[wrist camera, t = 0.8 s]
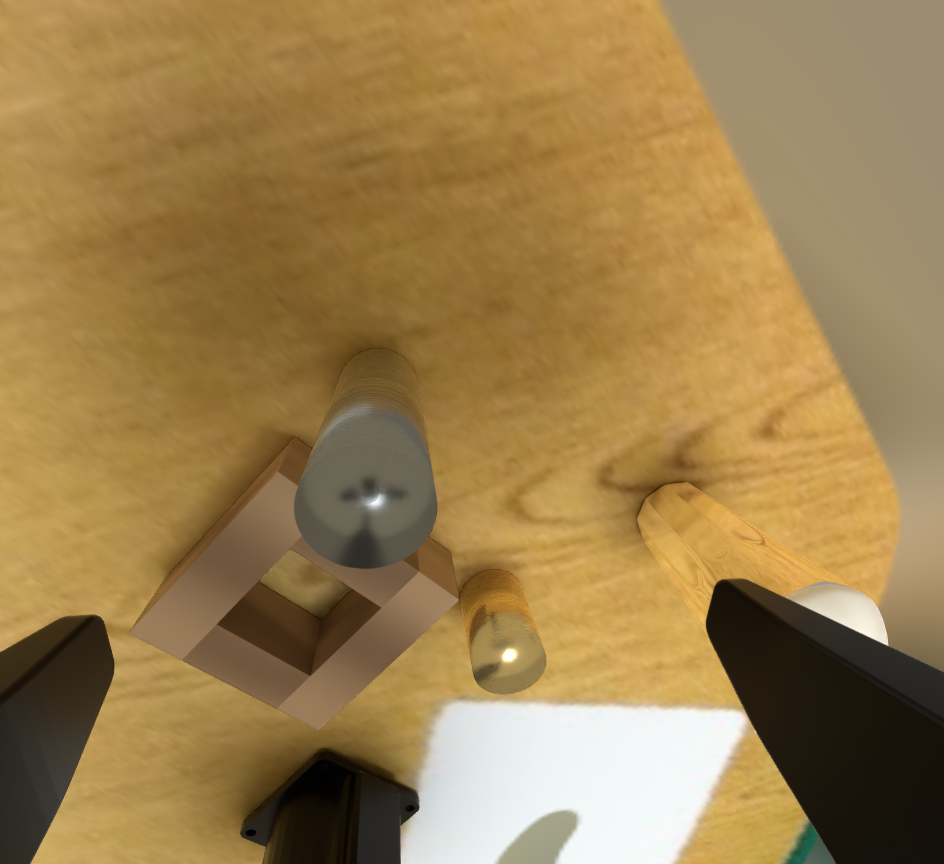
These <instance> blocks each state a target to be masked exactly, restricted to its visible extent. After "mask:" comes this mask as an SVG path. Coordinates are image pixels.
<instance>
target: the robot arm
mask: <svg viewBox="0 0 944 864" xmlns="http://www.w3.org/2000/svg"><path fill="white" fill-rule="evenodd" d="M706 631H707V634H708V637H709V639H710V641H711V643H712V645H713V647H714V649H715V651H716V653H717V655H718V657H719V659H720V662H721V664H722V666H723V668H724V670H725V672H726V674H727V676H728V678H729V680H730V682H731V684H732V686H733V688H734V690H735V692H736V694H737V696H738V698H739V700H740V702H741V704H742V706H743V708H744V710H745V712H746V714H747V716H748V718H749V720H750V722H751V724H752V725H753V727H754V729H755V731H756V733H757V735H758V736H759V738H760V740H761V741H762V743H763V745H764V747H765V748H766V750H767V752H768V753H769V755H770V757H771V758H772V760H773V761H774V763H775V765H776V766H777V768H778V770H779V771H780V773H781V775H782V776H783V778H784V780H785V781H786V783H787V785H788V786H789V788H790V789H791V791H792V793H793V794H794V796H795V798H796V799H797V801H798V803H799V804H800V806H801V808H802V809H803V811H804V813H805V814H806V816H807V817H808V819H809V821H810V822H811V824H812V826H813V827H814V829H815V831H816V832H817V834H818V836H819V837H820V839H821V840H822V842H823V844H824V845H825V847H826V849H827V850H828V852H829V854H830V855H831V857H832V859H833V860H834V862H835V864H944V672H942V671H940V670H938V669H936V668H934V667H932V666H929V665H928V664H925V663H923V662H921V661H919V660H917V659H915V658H913V657H911V656H908V655H906V654H904V653H902V652H900V651H898V650H895V649H894V648H891V647H889V646H887V645H885V644H883V643H881V642H879V641H877V640H875V639H872V638H870V637H868V636H866V635H864V634H862V633H860V632H858V631H855V630H853V629H851V628H849V627H847V626H845V625H843V624H841V623H838V622H836V621H834V620H832V619H830V618H828V617H826V616H824V615H821V614H819V613H817V612H815V611H813V610H811V609H809V608H807V607H804V606H802V605H800V604H798V603H796V602H794V601H792V600H790V599H787V598H785V597H783V596H781V595H779V594H777V593H775V592H773V591H770V590H768V589H766V588H764V587H762V586H760V585H758V584H756V583H754V582H751V581H749V580H747V579H743V578H734V579H722V580H719V581H718V582H717V583H716V584H715V586H714V589H713V593H712V597H711V601H710V605H709V609H708V613H707V616H706ZM113 675H114V658H113V654H112V650H111V647H110V643H109V639H108V635H107V631H106V627H105V624H104V621H103V620H102V618H101V617H99V616H97V615H76V616H66V617H62V618H60V619H58V620H56V621H54V622H52V623H51V624H49V625H47V626H45V627H44V628H42V629H40V630H38V631H37V632H35V633H33V634H31V635H30V636H28V637H26V638H24V639H23V640H21V641H19V642H17V643H16V644H14V645H12V646H10V647H9V648H7V649H5V650H3V651H2V652H0V864H30V863H31V861H32V860H33V858H34V856H35V854H36V852H37V850H38V848H39V846H40V844H41V842H42V840H43V838H44V837H45V835H46V833H47V831H48V829H49V827H50V825H51V823H52V821H53V819H54V817H55V815H56V813H57V811H58V809H59V807H60V805H61V803H62V800H63V798H64V796H65V793H66V791H67V789H68V787H69V784H70V782H71V780H72V777H73V775H74V772H75V770H76V767H77V765H78V763H79V760H80V758H81V755H82V753H83V750H84V748H85V745H86V743H87V741H88V738H89V736H90V733H91V731H92V728H93V726H94V723H95V721H96V719H97V716H98V714H99V711H100V709H101V706H102V704H103V701H104V699H105V696H106V694H107V692H108V689H109V687H110V684H111V682H112V679H113ZM419 807H420V806H419V797H418V796H417V795H415V794H413V793H411V792H409V791H407V790H405V789H403V788H401V787H399V786H397V785H395V784H393V783H391V782H389V781H387V780H385V779H383V778H381V777H379V776H377V775H375V774H373V773H371V772H369V771H367V770H365V769H363V768H361V767H359V766H357V765H355V764H353V763H351V762H349V761H347V760H345V759H343V758H341V757H339V756H337V755H335V754H333V753H331V752H320V753H318V754H316V755H315V756H314V757H313V758H312V759H311V760H310V761H309V762H308V763H307V764H305V765H304V766H303V767H302V768H301V769H300V770H299V771H298V772H297V773H296V774H295V775H293V776H292V777H291V778H290V779H289V780H288V781H287V782H286V783H285V784H284V785H283V786H281V787H280V788H279V789H278V790H277V791H276V792H275V793H274V794H273V795H272V796H271V797H270V798H268V799H267V800H266V801H265V802H264V803H263V804H262V805H261V806H260V807H259V808H258V809H256V810H255V811H254V812H253V813H252V814H251V815H250V816H249V817H248V818H247V819H246V820H245V821H244V822H243V824H242V828H241V832H240V835H241V836H242V837H243V838H245V839H247V840H250V841H252V842H255V843H258V844H260V845H263V846H265V847H266V849H265V854H264V859H263V863H262V864H401V829H400V826H401V825H402V824H403V823H404V822H406V821H407V820H408V819H409V818H410V817H412V816H413V815H414V814H415V813H416V812H417V811H418V810H419Z"/></svg>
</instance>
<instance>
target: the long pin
mask: <svg viewBox="0 0 944 864" xmlns="http://www.w3.org/2000/svg"><path fill="white" fill-rule="evenodd" d="M436 515H437V497H436V491H435V485H434V479H433V473H432V467H431V460H430V454H429V448H428V442H427V436H426V430H425V424H424V418H423V412H422V405H421V399H420V393H419V387H418V381H417V377H416V374H415V371H414V369H413V367H412V366H411V365H410V363H409V362H408V361H407V360H406V359H405V358H404V357H402V356H401V355H400V354H398V353H396V352H394V351H391V350H388V349H382V348H374V349H368V350H365V351H362V352H360V353H358V354H356V355H355V356H354V357H352V358H351V359H350V360H349V361H348V363H347V364H346V365H345V367H344V369H343V371H342V374H341V376H340V379H339V381H338V384H337V387H336V389H335V392H334V394H333V397H332V400H331V402H330V405H329V407H328V410H327V413H326V415H325V418H324V420H323V423H322V426H321V428H320V431H319V433H318V436H317V439H316V441H315V444H314V446H313V449H312V452H311V454H310V457H309V459H308V462H307V465H306V467H305V470H304V472H303V475H302V478H301V480H300V483H299V485H298V488H297V491H296V495H295V499H294V516H295V520H296V524H297V527H298V529H299V531H300V533H301V535H302V537H303V538H304V540H305V541H306V542H307V544H308V545H309V546H310V547H311V548H312V549H313V550H314V551H315V552H317V553H318V554H319V555H321V556H322V557H324V558H326V559H327V560H329V561H331V562H334V563H336V564H339V565H342V566H345V567H351V568H358V569H373V568H380V567H384V566H388V565H391V564H394V563H397V562H399V561H401V560H403V559H405V558H407V557H408V556H409V555H411V554H412V553H414V552H415V551H416V550H417V549H418V548H419V547H420V546H421V545H422V544H423V543H424V542H425V541H426V539H427V538H428V536H429V535H430V533H431V531H432V529H433V526H434V523H435V520H436Z"/></svg>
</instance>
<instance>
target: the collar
mask: <svg viewBox="0 0 944 864" xmlns="http://www.w3.org/2000/svg"><path fill="white" fill-rule="evenodd" d="M311 452H312V449H311V448H310V447H308V446H307V445H306V444H304V443H303V442H302V441H300V440H299V439H298V438H296V437H294V438H293V439H292V441H291V442H290V443H289V444H288V445H287V446H286V447H285V448H284V449H283V450H282V451H281V453H280V454H279V455H278V456H277V457H276V458H275V459H274V460H273V461H272V462H271V463H270V465H269V466H268V467H267V468H266V469H265V470H264V471H263V472H262V473H261V474H260V475H259V477H258V478H257V479H256V480H255V481H254V482H253V483H252V484H251V485H250V486H249V487H248V489H247V490H246V491H245V492H244V493H243V494H242V495H241V496H240V497H239V498H238V499H237V500H236V502H235V503H234V504H233V505H232V506H231V507H230V508H229V509H228V510H227V511H226V512H225V514H224V515H223V516H222V517H221V518H220V519H219V520H218V521H217V522H216V523H215V524H214V526H213V527H212V528H211V529H210V530H209V531H208V532H207V533H206V534H205V535H204V536H203V538H202V539H201V540H200V541H199V542H198V543H197V544H196V545H195V546H194V547H193V548H192V550H191V551H190V552H189V553H188V554H187V555H186V556H185V557H184V558H183V559H182V560H181V562H180V563H179V564H178V565H177V566H176V567H175V568H174V569H173V570H172V571H171V572H170V574H169V575H168V576H167V577H166V578H165V579H164V581H163V582H162V584H161V585H160V587H159V588H158V590H157V591H156V593H155V594H154V596H153V597H152V599H151V600H150V602H149V603H148V605H147V606H146V608H145V609H144V611H143V612H142V614H141V615H140V617H139V618H138V620H137V621H136V623H135V624H134V626H133V627H132V629H131V630H130V631H129V634H131V635H133V636H135V637H137V638H139V639H141V640H143V641H145V642H147V643H148V644H150V645H152V646H154V647H156V648H158V649H160V650H162V651H164V652H166V653H168V654H170V655H172V656H174V657H176V658H178V659H180V660H182V661H184V662H186V663H188V664H190V665H192V666H194V667H196V668H197V669H199V670H201V671H203V672H205V673H207V674H209V675H211V676H213V677H215V678H217V679H219V680H221V681H223V682H225V683H227V684H229V685H231V686H233V687H235V688H237V689H239V690H241V691H243V692H244V693H246V694H248V695H250V696H252V697H254V698H256V699H258V700H260V701H262V702H264V703H266V704H268V705H270V706H272V707H274V708H276V709H278V710H280V711H282V712H284V713H286V714H288V715H290V716H292V717H293V718H295V719H297V720H299V721H301V722H303V723H305V724H307V725H309V726H311V727H313V728H315V729H317V730H320V729H321V728H322V727H323V726H324V725H325V724H327V723H328V722H329V721H330V720H331V719H332V718H333V717H334V716H335V715H336V714H337V713H338V712H339V711H341V710H342V709H343V708H344V707H345V706H346V705H347V704H348V703H349V702H350V701H351V700H352V699H353V698H355V697H356V696H357V695H358V694H359V693H360V692H361V691H362V690H363V689H364V688H365V687H366V686H367V685H369V684H370V683H371V682H372V681H373V680H374V679H375V678H376V677H377V676H378V675H379V674H380V673H381V672H383V671H384V670H385V669H386V668H387V667H388V666H389V665H390V664H391V663H392V662H393V661H394V660H395V659H396V658H398V657H399V656H400V655H401V654H402V653H403V652H404V651H405V650H406V649H407V648H408V647H409V646H410V645H412V644H413V643H414V642H415V641H416V640H417V639H418V638H419V637H420V636H421V635H422V634H423V633H424V632H426V631H427V630H428V629H429V628H430V627H431V626H432V625H433V624H434V623H435V622H436V621H437V620H438V619H440V618H441V617H442V616H443V615H444V614H445V613H446V612H447V611H448V610H449V609H450V608H451V607H452V606H454V605H455V604H456V603H457V602H458V601H459V595H458V590H457V584H456V579H455V573H454V567H453V562H452V556H451V553H450V552H449V551H448V550H446V549H445V548H444V547H442V546H441V545H440V544H438V543H437V542H436V541H434V540H433V539H432V538H430V537H429V536H428V538H427V539H426V541H425V542H424V543H423V544H422V545H421V546H420V547H419V548H418V549H417V550H416V551H415V552H414V553H412V554H411V555H409V556H408V557H407V558H405V559H403V560H401V561H399V562H397V563H394V564H391V565H388V566H384V567H380V568H373V569H358V568H351V567H345V566H342V565H339V564H336V563H334V562H331V561H329V560H327V559H326V558H324V557H322V556H321V555H319V554H318V553H317V552H315V551H314V550H313V549H312V548H311V547H310V546H309V545H308V544H307V542H306V541H305V540H304V538H303V537H302V535H301V533H300V531H299V529H298V527H297V524H296V520H295V516H294V499H295V495H296V491H297V488H298V485H299V483H300V480H301V478H302V475H303V472H304V470H305V467H306V465H307V462H308V459H309V457H310V454H311ZM289 549H292V550H294V551H295V552H297V553H298V554H300V555H301V556H303V557H304V558H306V559H307V560H309V561H310V562H312V563H314V564H315V565H317V566H318V567H320V568H321V569H323V570H324V571H326V572H327V573H329V574H330V575H332V576H333V577H335V578H337V579H338V580H340V581H341V582H343V583H344V584H346V585H347V586H349V587H350V588H352V590H351V591H350V592H349V593H348V594H347V595H346V596H345V597H344V598H343V599H342V600H341V601H340V602H339V603H338V604H337V605H336V606H335V607H334V608H333V609H332V610H331V611H330V612H329V613H328V614H327V615H326V616H325V617H324V618H323V619H322V620H320V619H319V618H317V617H315V616H314V615H312V614H310V613H309V612H307V611H305V610H304V609H302V608H300V607H299V606H297V605H295V604H294V603H292V602H290V601H289V600H287V599H286V598H284V597H282V596H281V595H279V594H277V593H276V592H274V591H272V590H271V589H269V588H267V587H266V586H264V585H262V584H261V583H259V582H258V581H259V580H260V579H261V578H262V577H263V576H264V575H265V574H266V572H267V571H268V570H269V569H270V568H271V567H272V566H273V565H274V564H275V563H276V562H277V561H278V560H279V559H280V558H281V557H282V556H283V555H284V554H285V553H286V552H287V551H288V550H289Z"/></svg>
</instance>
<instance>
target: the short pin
mask: <svg viewBox="0 0 944 864" xmlns="http://www.w3.org/2000/svg"><path fill="white" fill-rule="evenodd" d="M460 602H461V608H462V614H463V619H464V625H465V630H466V636H467V641H468V647H469V652H470V658H471V664H472V669H473V675H474V678H475V680H476V682H477V683H478V685H479V686H480V687H482V688H483V689H484V690H486V691H488V692H491V693H495V694H512V693H516V692H520V691H522V690H525V689H527V688H528V687H530V686H531V685H533V684H534V683H535V682H536V681H537V680H538V679H539V678H540V677H541V675H542V674H543V672H544V670H545V667H546V654H545V651H544V648H543V646H542V643H541V640H540V637H539V635H538V632H537V629H536V626H535V624H534V621H533V618H532V615H531V612H530V610H529V607H528V604H527V601H526V599H525V596H524V593H523V590H522V588H521V585H520V583H519V581H518V579H517V578H516V577H515V576H514V575H512V574H511V573H509V572H506V571H503V570H486V571H483V572H480V573H478V574H476V575H474V576H473V577H472V578H470V579H469V580H468V581H467V582H466V584H465V585H464V587H463V588H462V591H461V595H460Z"/></svg>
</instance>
